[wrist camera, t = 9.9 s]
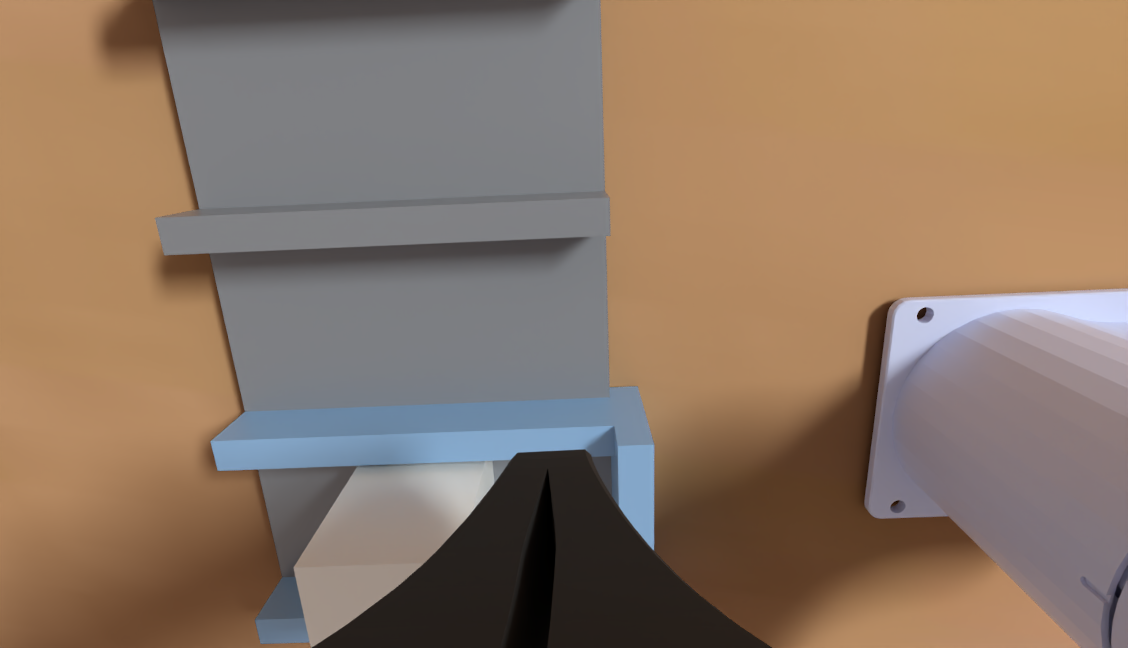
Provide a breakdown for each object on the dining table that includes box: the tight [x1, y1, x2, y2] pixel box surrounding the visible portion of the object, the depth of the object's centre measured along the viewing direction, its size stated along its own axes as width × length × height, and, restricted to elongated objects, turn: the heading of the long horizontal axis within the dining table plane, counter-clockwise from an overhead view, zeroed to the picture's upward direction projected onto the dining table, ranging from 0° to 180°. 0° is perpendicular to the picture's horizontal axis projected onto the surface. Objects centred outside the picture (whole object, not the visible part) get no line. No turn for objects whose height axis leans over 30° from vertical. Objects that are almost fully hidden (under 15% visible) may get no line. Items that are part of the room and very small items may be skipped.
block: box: [294, 461, 494, 648], centre depth 18 cm, size 4×4×6 cm
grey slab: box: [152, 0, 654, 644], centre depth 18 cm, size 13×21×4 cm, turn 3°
